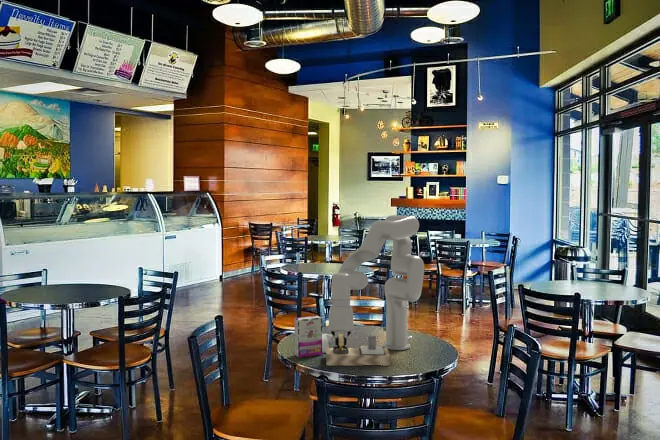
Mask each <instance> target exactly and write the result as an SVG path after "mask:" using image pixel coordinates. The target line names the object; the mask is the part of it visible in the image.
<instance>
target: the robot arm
mask: <svg viewBox="0 0 660 440" xmlns="http://www.w3.org/2000/svg"><path fill="white" fill-rule="evenodd" d="M419 228H420V222H419V220H418V218H416V217H415V216H413V215H398V214H394V215H393V214H392V215H388V216H386V218H385V219H383V220H382V219H381V220H376V221H374V222H373V223H371V226H370V228H369V230H368V232H367V234H366V235H365V238H364V239H363V242H362V243H361V245H360V247H359V248H357V249H356V250H355V251H353V252H352V253H351V254H350V255H348V256H347V257H346V258H345V260H344V261H343V263H342V264H341V267H340V268H339V270H338V272H335V273H333V274H332V277H331V278H332V282H331V283H332V285H331V286H332V287H331V294H332V295H331V299H329V300H328V304H331V305H330V307H329V312H328V313H329V314H328V325H327V327H326V330H325V331H326V332H327V333H328V334H331V335H332V337H334V338H335V339H334V341H335V346H337V348H338V347H339V337H338V334H339V333H338V332H343V333H344V334H343V338H344V346H343V347H344V348H345V346H347V338H348V337H349V336H350V335H351V334H353V333H356V328H355V325H354V310H353V309H354V308H353V306H352V305H351V291H352V290H354V291H355V290H356V291H357V290H358V291H359V290H360V291H361V290H363V289H365V288H366V287H367V286H368V284H369V277H368V276H367V274H366V273H364V272H363V271H358V270H357V268H358V267H359V266H361V265H362V264H364V263H367V262H369V261H373V260H374V259H377V258H378V256H379V255H380V253H381V250H382V249H383V247H384V245H385V243H386V241H392V252H391V260H390V271H391V272H392V273H393V274H395V275H398V276H405V277H407V278H402V277H401V278H400V277H390V278H389V279H387V280H386V282H385V283H384V296H385V303H386V313H385V314H386V315H385V316H386V321H385V324H386V326H385V327H386V328H385V330H386V331H385V335H386V336H385V342H383V343H382V348H387V349H388V350H389V351H390V350H391V351H405V350H409V349H411V344H410V343H409V341H413V340H414V339H413V336H412V335H408V314H409V313H408V305H407V302H414V303H415V302H417V301H418V300H419V299H420V297H421V295H422V290H423V285H424V284H423V283H424V275H425V263H424V260H423V259H422V258H421V257H420V256H418V255H412V245H413V244H412V239H411V237H412V236H414V235H416V234H417V232H418V231H419ZM356 270H357V271H356Z"/></svg>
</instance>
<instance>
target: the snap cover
mask: <svg viewBox="0 0 660 440" xmlns="http://www.w3.org/2000/svg"><path fill="white" fill-rule="evenodd" d="M367 339H368V340H367V341H368V342H367V345H360V348H361V353H362V354H384V350H383V348H384V347H383V345H377V336H376V335H369V336H367Z"/></svg>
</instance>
